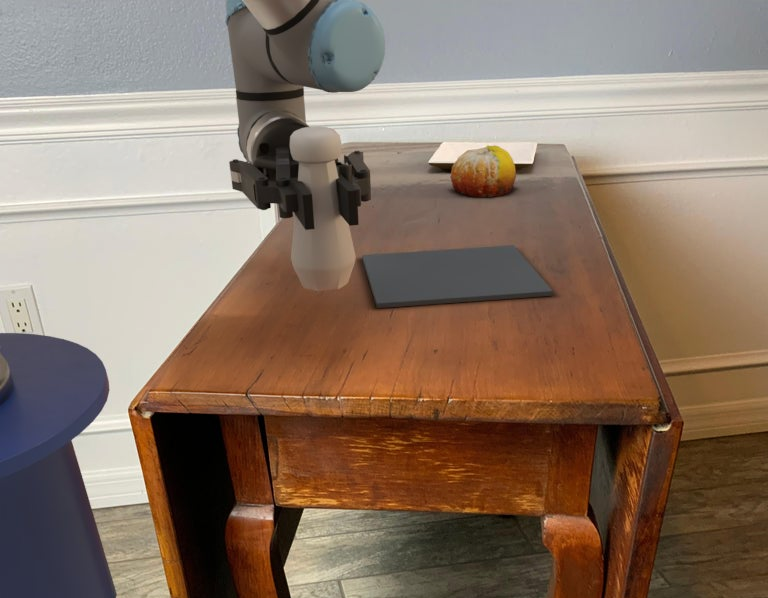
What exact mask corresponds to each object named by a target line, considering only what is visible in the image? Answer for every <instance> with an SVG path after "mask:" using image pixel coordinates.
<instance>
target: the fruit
mask: <svg viewBox="0 0 768 598" xmlns="http://www.w3.org/2000/svg"><path fill="white" fill-rule="evenodd" d="M450 171H451V172H450V181H451V185H452V188H453V189H454V190H455V191H456V192H457V193H460V195H463V196H469V197H474V198H492V197H500V196H505V195H507V194H509V193H510V192H511V191H512V189H513V188H514V186H515V181H516V175H517V172H516V171H517V170H515V165H514V162H513V159H512V157H511V156H510V154H509V153H508V152H507V151H506V150H504V149H502V148H500V147H499V146H487V147H484V148H479V149H473V150H467V151H466V152H465V153H464V154H462V155H461V156H459V157H458V159H457V161H456V162H455V163H454V165H453V166H452V170H450Z"/></svg>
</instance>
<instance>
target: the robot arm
mask: <svg viewBox="0 0 768 598" xmlns="http://www.w3.org/2000/svg"><path fill="white" fill-rule="evenodd" d="M225 12H226V16H225V25H226V26H227V33H228V41H229V47H230V55H231V62H232V69H233V70H232V71H233V76H234V78H233V79H234V85H235V96H236V97H235V101H236V108H237V109H236V110H237V117H238V126H237V128H236V129H237V130H236V131H237V137H238V142H237V143H238V147H239V150H240V152H241V153H242V155H243V158H244V159H245V160H246V161H244V160H240V159H238V158H237V159H236V158H234V159H232V160H230V161H229V162H228V163H229V172H230V180H231V187H232V188H231V189H233V190H235V191H238V192H240V193H243V195H244V196H245V197H246V198H247V199H248V200H249V201H250V202H251V203H252V204H253V205H254V207H256V209H258V210H261V211H267V210H269V209H271V208H272V205H271V204H276V205H278V217H279V218H280V219H291V218H294V216H295V215H296V216H297V218H298V219H299V221H300V222H301V224H302V225H303V227H304V228H305V230H310V229H315V228H314V214H313V200H312V194H311V192H310V191H309V190H308V188H307V187H306V186H305V185H304V183H303V182H302V181H298V172H299V162H297V161H295V160H293V158H292V155H291V152H290V136H291V135H292V133H293V132H294V131H296V130H298V129H301V128H305V127H310V125H309V124H307V118H306V105H305V104H306V103H305V88H310V89H314V90H320V91H324V92H326V93H332V94H337V93H355V92H358V91H361V90H364V89H365V88H366V87H368V86H369V85H370V84H371V83H372V82H373V81H374V80H375V79H376V76H378V74H379V72H380V70H381V68H382V67H383V62H384V59H385V55H386V38H385V37H386V36H385V32H384V28H383V24H382V23H381V20H380V18H379V16H378V15H377V13H376V12H375V11H374V10H373V9H372V8H371V7H370V6H368V5H367V4H365V3H364V2H362V1H358V0H225ZM304 87H305V88H304ZM335 164H336V168H337V173H338V178H337V179H336V182H337V191H338V200H339V210H340V215H341V216H342V217H343V218H344V220H345V221H346V222H347V223H348V224H349V227H351V226H359V207H362V203H365V202H366V203H367V202H369V201H371V200H372V189H371V187H372V186H371V170H370V168H369V167H368V166H367V164H366V163H365V161H364V152H363V151H360V150H355V151H351V152H350V153H345V154H344V155H343V159H339V158H337V159H336V160H335ZM0 348H1V347H0ZM13 388H14V382H13V378H12V375H11V372H10V369H9V366H8V363H7V361H6V359H5V358H4V357H3V356H2V354H1V353H0V405H1V404H3V403H4V402H5V401H6V400H7V399H8V397H9V396H10V395H11V393H12V391H13Z"/></svg>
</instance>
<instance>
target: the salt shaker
mask: <svg viewBox="0 0 768 598" xmlns="http://www.w3.org/2000/svg"><path fill="white" fill-rule="evenodd" d="M290 152H291V155H292V158H293V160H295V161H297V162H299V172H298V181H302V182H303V183H304V185H305V186H306V187H307V188H308V190H309V191H310V192H311V194H312V200H313V214H314V228H315V229H310V230H305V228H304V227H303V225H302V224H301V222H300V221H299V219H298V218H297V216H296V215H295V214H294V219H293V220H294V221H293V231H292V242H291V253H290V260H291V263H292V266H293V269H294V271H295V273H296V276H297V278H298V279H299V282H300V283H301V286H302V287H303V288H304V289H308V290H311V291H315V292H326V291H337V290H339V289H341V288H343V287H344V286H346V285H347V284H348V283H349V281H350V278H351V275H352V272H353V270H354V267H355V264H356V259H357V257H356V252H355V246H354V243H353V238H352V233H351V229H350V226H349V224H348V223H347V222H346V221H345V220H344V218H343V217H342V216H341V215H340V210H339V200H338V191H337V182H336V179H337V178H338V173H337V168H336V164H335V160H336V159H337V158H338V159H339V158H341V156H342V140H341V136H340V134H339V133H338V132H337V131H336V129H334V128H331V127H327V126H309V127H305V128H301V129H298V130H296V131H294V132H293V133H292V135H291V136H290Z"/></svg>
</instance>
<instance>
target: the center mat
mask: <svg viewBox="0 0 768 598" xmlns="http://www.w3.org/2000/svg"><path fill="white" fill-rule="evenodd" d="M361 260H362V263H363V267H364V270H365V272H366V276H367V280H368V284H369V287H370V290H371V293H372V296H373V301H374V303H375V306H376V309H387V308H403V307H415V306H416V307H417V306H429V305H443V304H456V303H470V302H484V301H497V300H499V301H500V300H501V301H502V300H514V299H526V298H527V299H528V298H539V297H543V298H544V297H552V296H553V295H554V290H553V289H552V288H551V287H550V285H548V283H547V282H546V281H545V280H544V279H543V278H542V277H541V275H540V274H539V272H537V270H536V269H535V268H534V267H533V266H532V265H531V264H530V262H529V261H528V260H527V259H526V257H524V256H523V254H522V253H521V252H520V251H519V249H517V247H516V246H515V245H514V244H510V245H508V244H507V245H495V246H494V245H493V246H480V247H464V248H450V249H436V250H435V249H434V250H420V251H419V250H418V251H406V252H405V251H403V252H387V253H375V254H374V253H373V254H362V255H361Z"/></svg>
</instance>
